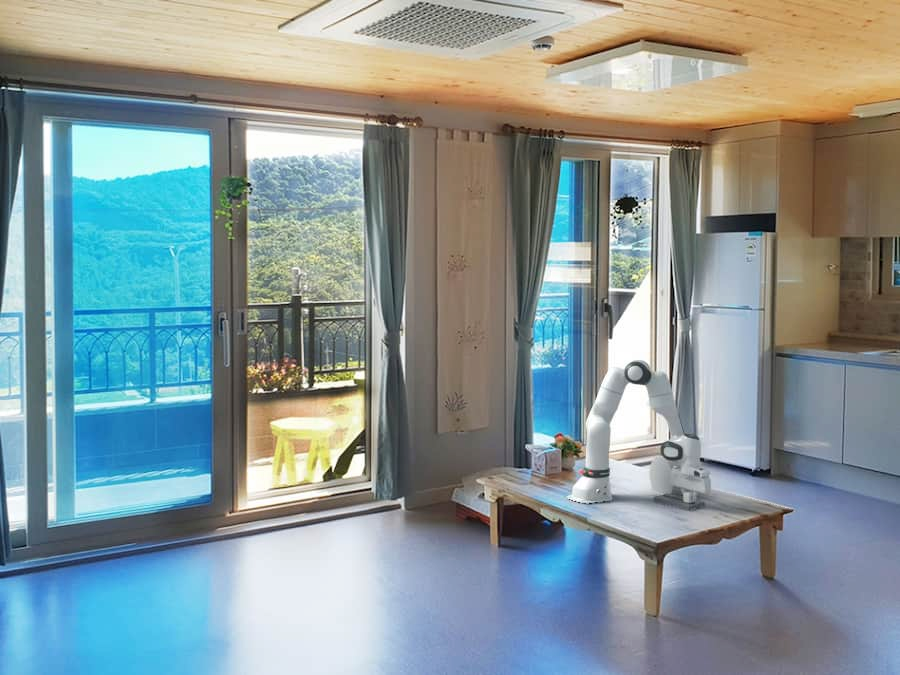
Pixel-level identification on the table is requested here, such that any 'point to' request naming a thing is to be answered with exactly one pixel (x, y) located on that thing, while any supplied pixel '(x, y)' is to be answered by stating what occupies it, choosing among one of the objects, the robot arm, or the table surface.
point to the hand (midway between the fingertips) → (689, 498)
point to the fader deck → (677, 501)
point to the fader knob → (688, 497)
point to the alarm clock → (663, 475)
